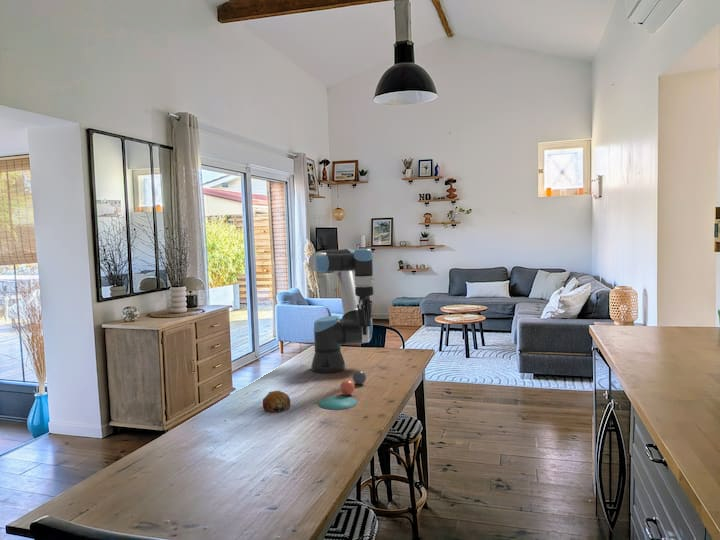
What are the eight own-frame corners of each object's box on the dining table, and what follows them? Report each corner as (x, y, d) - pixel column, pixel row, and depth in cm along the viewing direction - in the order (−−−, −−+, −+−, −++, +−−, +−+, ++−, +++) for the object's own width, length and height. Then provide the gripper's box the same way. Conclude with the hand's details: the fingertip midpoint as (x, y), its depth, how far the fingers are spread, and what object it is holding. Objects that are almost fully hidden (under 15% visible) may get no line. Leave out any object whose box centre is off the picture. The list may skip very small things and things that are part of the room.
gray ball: (350, 384, 215) (349, 370, 215) (360, 381, 218) (360, 368, 218) (358, 386, 211) (358, 373, 210) (369, 384, 214) (368, 370, 214)
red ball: (337, 394, 202) (336, 380, 201) (348, 391, 205) (348, 377, 205) (346, 397, 198) (345, 383, 197) (357, 394, 201) (357, 380, 201)
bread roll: (292, 415, 192) (293, 392, 194) (286, 412, 182) (287, 388, 185) (265, 415, 192) (267, 392, 195) (257, 412, 183) (259, 388, 186)
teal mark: (310, 402, 193) (310, 402, 193) (341, 394, 202) (341, 393, 202) (333, 412, 182) (333, 411, 182) (365, 403, 191) (365, 402, 191)
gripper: (367, 287, 213) (369, 345, 215) (377, 284, 225) (379, 339, 227) (350, 287, 216) (352, 345, 217) (360, 284, 228) (362, 338, 230)
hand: (365, 341), depth 222 cm, fingers closed
